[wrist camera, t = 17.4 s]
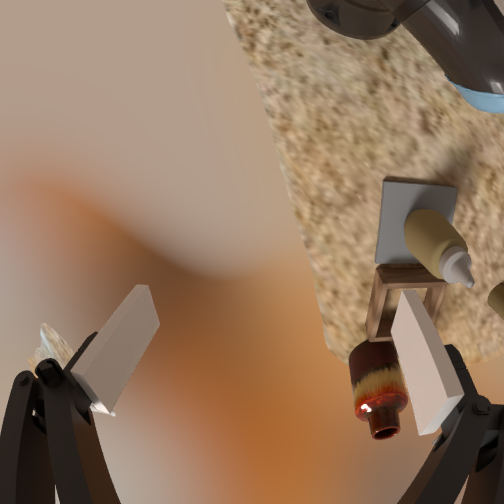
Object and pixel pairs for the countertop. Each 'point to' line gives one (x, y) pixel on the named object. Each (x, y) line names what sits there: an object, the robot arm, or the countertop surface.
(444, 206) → the slate mat
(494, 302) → the cork
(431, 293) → the bottle holder
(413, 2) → the robot arm
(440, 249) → the squeeze bottle
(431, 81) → the countertop surface
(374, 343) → the vase
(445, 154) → the countertop surface
